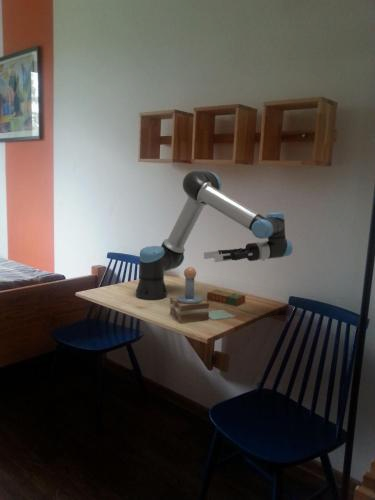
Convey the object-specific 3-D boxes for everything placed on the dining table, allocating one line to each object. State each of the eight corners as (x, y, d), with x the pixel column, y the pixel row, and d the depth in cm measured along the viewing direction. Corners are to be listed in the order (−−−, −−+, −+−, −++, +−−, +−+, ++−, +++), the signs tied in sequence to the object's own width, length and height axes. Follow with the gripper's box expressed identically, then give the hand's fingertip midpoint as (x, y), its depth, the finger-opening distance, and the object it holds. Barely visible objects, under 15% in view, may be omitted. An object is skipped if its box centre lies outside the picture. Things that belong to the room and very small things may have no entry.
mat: (202, 312, 179) (202, 312, 179) (222, 310, 183) (223, 309, 183) (212, 320, 170) (212, 319, 170) (234, 317, 174) (234, 316, 174)
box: (169, 314, 177) (170, 297, 176) (196, 311, 182) (196, 295, 180) (180, 323, 166) (181, 306, 165) (208, 320, 171) (209, 303, 169)
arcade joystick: (173, 298, 175) (174, 265, 173) (195, 296, 179) (196, 264, 177) (182, 305, 166) (183, 270, 164) (205, 302, 170) (206, 268, 168)
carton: (215, 297, 205) (216, 288, 205) (245, 303, 196) (245, 294, 196) (206, 300, 199) (207, 291, 198) (236, 307, 189) (237, 298, 189)
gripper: (270, 263, 167) (220, 269, 162) (245, 257, 191) (201, 263, 186) (269, 244, 166) (218, 250, 161) (244, 241, 190) (199, 246, 185)
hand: (209, 257), depth 173 cm, fingers open, 13 cm apart
